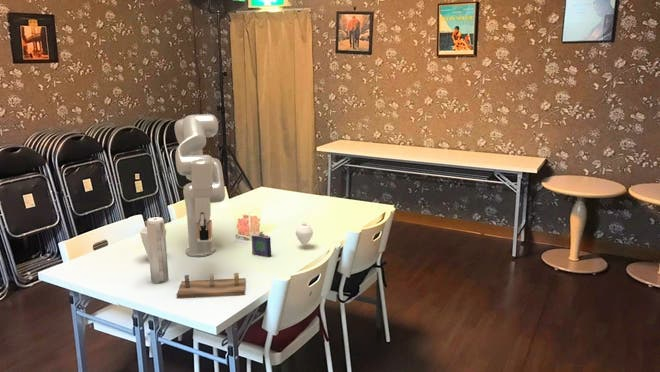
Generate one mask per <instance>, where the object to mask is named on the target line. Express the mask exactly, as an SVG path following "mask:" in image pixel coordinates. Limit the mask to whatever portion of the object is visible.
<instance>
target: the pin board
mask: <svg viewBox="0 0 660 372" xmlns="http://www.w3.org/2000/svg"><path fill="white" fill-rule="evenodd" d="M233 275H234V276H233V277H234V278H221V279H220V278H219V279H215V274H214V273H210V274H209V279H198V280H196V279H195V280H194V279H193V280H190V275H189V274H185V275H184V280H181V281H180V284H179V288H178V290H177V293H176V299H190V298H191V299H192V298H194V299H195V298H207V297H208V298H212V297H214V298H215V297H229V296H232V297H233V296H244V295H246V293H245V292H246V281H247V280H246V277H242V278H239V277H240V274H239V272H234V273H233Z"/></svg>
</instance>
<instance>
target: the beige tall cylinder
mask: <svg viewBox="0 0 660 372" xmlns="http://www.w3.org/2000/svg"><path fill="white" fill-rule="evenodd" d="M146 227H147V237H148V249H149V261H148V262H149V271H150V281H151V283H152V284H155V285H160V284H165V283H167V282H168V281H169V279H170V278H169V276H170V275H169V263H168V251H167V239H166V237H167V236H166V237H165V227H166V226H165V220H164V218H163V217H161V216H156V217H149V218H148V219H147V221H146Z"/></svg>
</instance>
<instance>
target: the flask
mask: <svg viewBox="0 0 660 372" xmlns="http://www.w3.org/2000/svg"><path fill="white" fill-rule="evenodd" d="M263 232H264V231H260V232H258V234H255V233H254V234H251V254H252V255H253V256H257V257H263V258H264V257H265V258H271V257H272V247H271V243H272V241H271V240H272V239H271V236H270V235H265V233H263Z"/></svg>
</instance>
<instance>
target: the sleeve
mask: <svg viewBox="0 0 660 372" xmlns="http://www.w3.org/2000/svg"><path fill="white" fill-rule="evenodd" d="M212 221H213V220H212V219H210V220H209V222H208V223H207V230H208V235H209V239H208V240H200V231H199V230H200V220H199V222H198V223H197V233H198V238H197V241H198V242H207V241H211V242H212V241H213V238H214V233H213V222H212ZM204 222H206V221H204ZM204 225H205V226H206V224H204Z"/></svg>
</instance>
